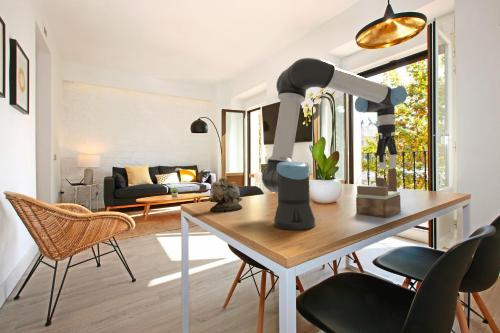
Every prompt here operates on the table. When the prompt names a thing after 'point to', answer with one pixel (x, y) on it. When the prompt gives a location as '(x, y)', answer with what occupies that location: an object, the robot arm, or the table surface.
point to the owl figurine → (225, 196)
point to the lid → (375, 192)
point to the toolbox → (378, 206)
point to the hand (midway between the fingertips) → (387, 168)
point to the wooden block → (389, 181)
